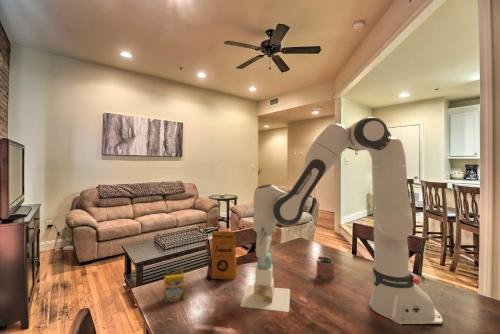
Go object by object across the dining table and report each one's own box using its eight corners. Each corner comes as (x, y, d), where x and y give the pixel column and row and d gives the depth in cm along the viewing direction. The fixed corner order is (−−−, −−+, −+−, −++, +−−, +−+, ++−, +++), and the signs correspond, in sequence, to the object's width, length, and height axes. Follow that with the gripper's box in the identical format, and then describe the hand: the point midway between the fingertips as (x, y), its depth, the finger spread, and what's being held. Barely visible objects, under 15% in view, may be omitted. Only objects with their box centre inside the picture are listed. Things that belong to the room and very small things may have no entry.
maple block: (273, 293, 99) (273, 278, 99) (272, 302, 92) (272, 287, 92) (256, 291, 100) (256, 277, 100) (254, 300, 93) (254, 285, 93)
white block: (272, 279, 98) (272, 264, 98) (271, 286, 92) (271, 270, 92) (258, 277, 99) (258, 263, 99) (255, 284, 93) (255, 269, 93)
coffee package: (235, 283, 109) (235, 234, 109) (208, 281, 111) (208, 233, 110) (239, 273, 119) (239, 228, 118) (214, 271, 120) (214, 227, 120)
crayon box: (164, 303, 93) (164, 273, 93) (164, 298, 96) (164, 270, 96) (183, 300, 95) (183, 271, 95) (183, 296, 98) (183, 267, 98)
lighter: (333, 276, 116) (333, 255, 116) (334, 279, 112) (335, 258, 112) (316, 275, 117) (316, 254, 116) (317, 278, 113) (317, 257, 113)
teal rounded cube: (271, 264, 98) (271, 252, 98) (270, 270, 93) (270, 257, 92) (258, 263, 99) (258, 251, 99) (256, 269, 93) (256, 256, 93)
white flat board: (290, 291, 102) (290, 289, 102) (289, 314, 86) (289, 311, 86) (248, 287, 105) (248, 284, 105) (239, 308, 90) (239, 306, 90)
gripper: (269, 233, 85) (269, 272, 85) (274, 220, 105) (274, 251, 105) (251, 232, 86) (251, 271, 86) (260, 219, 106) (260, 250, 106)
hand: (264, 260), depth 96 cm, fingers open, 8 cm apart
